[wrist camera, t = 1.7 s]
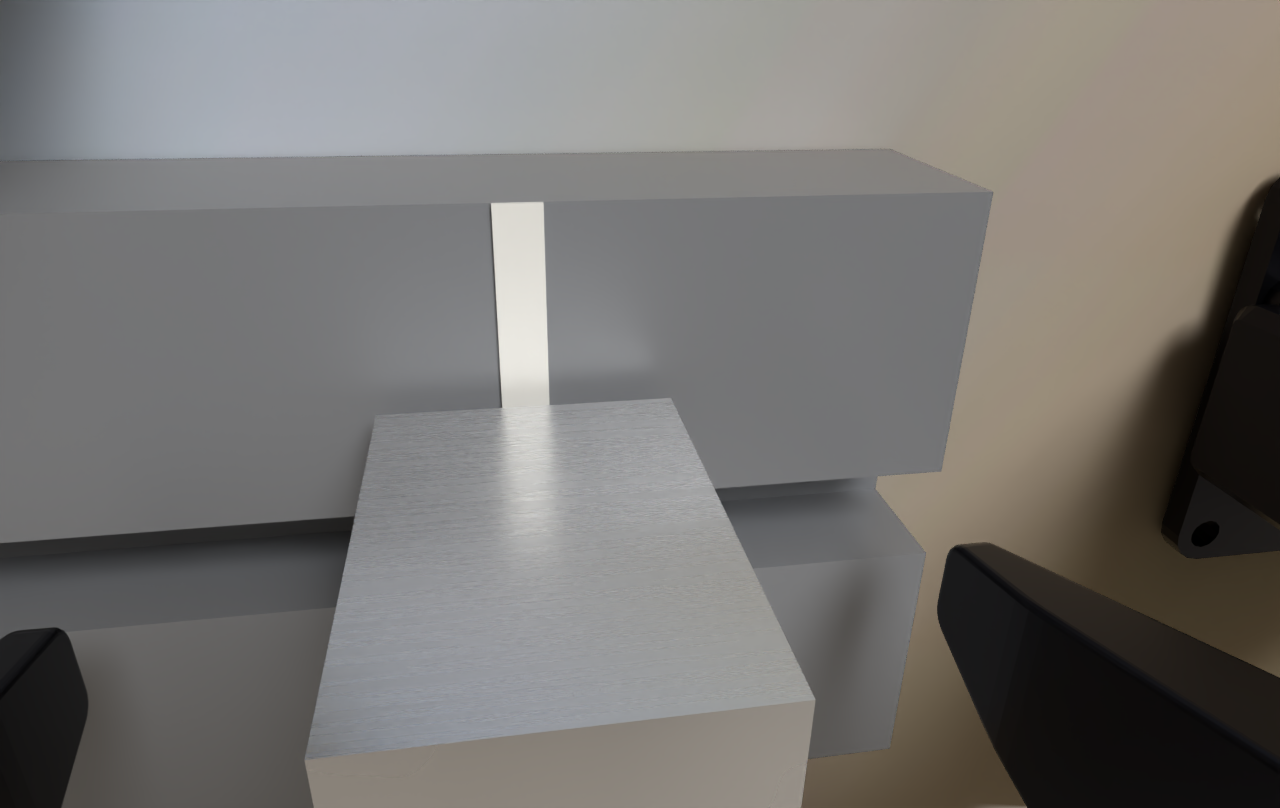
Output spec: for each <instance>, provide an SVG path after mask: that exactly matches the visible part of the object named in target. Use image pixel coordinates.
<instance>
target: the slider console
mask: <svg viewBox="0 0 1280 808" xmlns="http://www.w3.org/2000/svg"><path fill="white" fill-rule="evenodd" d="M992 196H993V191H990V190H988V189H986V188H983V187H981V186H978V185H976V184H973V183H971V182H969V181H966V180H964V179H961V178H959V177H957V176H954V175H952V174H949V173H947V172H945V171H942V170H940V169H937V168H935V167H932V166H930V165H928V164H925V163H923V162H920V161H918V160H916V159H913V158H911V157H908V156H906V155H903V154H901V153H899V152H896V151H894V150H891V149H852V150H778V151H705V152H631V153H558V154H484V155H410V156H337V157H263V158H190V159H116V160H43V161H0V639H1V638H3V637H4V636H6V635H7V634H9V633H11V632H14V631H18V630H27V629H39V628H50V627H57V628H60V629H62V630H64V631H65V632H66V633H67V635H68V636H69V638H70V641H71V643H72V646H73V649H74V652H75V656H76V659H77V662H78V665H79V668H80V671H81V674H82V677H83V680H84V683H85V686H86V689H87V693H88V700H89V708H88V716H87V720H86V724H85V727H84V731H83V735H82V738H81V742H80V745H79V749H78V752H77V756H76V759H75V763H74V766H73V770H72V773H71V777H70V780H69V784H68V787H67V791H66V794H65V798H64V801H63V805H62V808H314V806H313V801H312V796H311V790H310V785H309V780H308V775H307V770H306V765H305V755H306V750H307V746H308V741H309V736H310V731H311V726H312V721H313V717H314V712H315V707H316V702H317V697H318V693H319V688H320V683H321V678H322V673H323V668H324V664H325V659H326V654H327V649H328V644H329V640H330V635H331V630H332V625H333V620H334V615H335V611H336V606H337V601H338V596H339V591H340V587H341V582H342V577H343V572H344V567H345V562H346V558H347V553H348V548H349V543H350V538H351V533H352V529H353V524H354V519H355V514H356V509H357V505H358V500H359V495H360V490H361V485H362V480H363V476H364V471H365V466H366V461H367V456H368V452H369V447H370V442H371V437H372V432H373V427H374V423H375V418H376V415H390V414H407V413H424V412H441V411H458V410H475V409H492V408H509V407H526V406H543V405H560V404H577V403H594V402H611V401H628V400H645V399H661V398H671V399H672V401H673V404H674V406H675V408H676V410H677V412H678V414H679V416H680V418H681V420H682V422H683V424H684V426H685V429H686V431H687V433H688V435H689V437H690V439H691V441H692V443H693V445H694V447H695V449H696V451H697V454H698V456H699V458H700V460H701V462H702V464H703V466H704V468H705V470H706V472H707V474H708V477H709V479H710V481H711V483H712V485H713V487H714V489H715V491H716V493H717V495H718V497H719V499H720V502H721V504H722V506H723V508H724V510H725V512H726V514H727V516H728V518H729V520H730V522H731V524H732V527H733V529H734V531H735V533H736V535H737V537H738V539H739V541H740V543H741V545H742V547H743V549H744V552H745V554H746V556H747V558H748V560H749V562H750V564H751V566H752V568H753V570H754V572H755V575H756V577H757V579H758V581H759V583H760V585H761V587H762V589H763V591H764V593H765V595H766V597H767V600H768V602H769V604H770V606H771V608H772V610H773V612H774V614H775V616H776V618H777V620H778V622H779V625H780V627H781V629H782V631H783V633H784V635H785V637H786V639H787V641H788V643H789V645H790V648H791V650H792V652H793V654H794V656H795V658H796V660H797V662H798V664H799V666H800V668H801V670H802V673H803V675H804V677H805V679H806V681H807V683H808V685H809V687H810V689H811V691H812V693H813V695H814V698H815V708H814V715H813V723H812V730H811V738H810V745H809V753H808V759H812V758H820V757H828V756H836V755H843V754H851V753H859V752H867V751H874V750H882V749H890V744H891V738H892V733H893V728H894V722H895V717H896V711H897V706H898V701H899V695H900V690H901V685H902V679H903V674H904V669H905V663H906V658H907V652H908V647H909V642H910V636H911V631H912V626H913V620H914V615H915V609H916V604H917V599H918V593H919V588H920V583H921V577H922V572H923V567H924V561H925V556H926V552H925V551H924V550H923V548H922V547H921V546H920V545H919V543H918V542H917V541H916V540H915V538H914V537H913V536H912V535H911V533H910V532H909V531H908V529H907V528H906V527H905V526H904V524H903V523H902V522H901V521H900V519H899V518H898V517H897V516H896V514H895V513H894V512H893V511H892V509H891V508H890V507H889V506H888V504H887V503H886V502H885V500H884V499H883V498H882V497H881V495H880V494H879V493H878V492H877V490H876V489H875V488H876V481H877V476H887V475H900V474H913V473H926V472H939V471H941V470H942V465H943V459H944V454H945V448H946V443H947V438H948V432H949V427H950V422H951V416H952V411H953V405H954V400H955V395H956V389H957V384H958V379H959V373H960V368H961V363H962V357H963V352H964V346H965V341H966V336H967V330H968V325H969V320H970V314H971V309H972V303H973V298H974V293H975V287H976V282H977V277H978V271H979V266H980V261H981V255H982V250H983V244H984V239H985V234H986V228H987V223H988V218H989V212H990V207H991V201H992Z"/></svg>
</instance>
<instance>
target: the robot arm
mask: <svg viewBox="0 0 1280 808" xmlns="http://www.w3.org/2000/svg"><path fill="white" fill-rule="evenodd" d="M1161 533H1162V536H1163V538H1164V540H1165V541H1166V542H1167V543H1169V544H1170V545H1171V546H1172V547H1174V548H1175V549H1176V550H1177V551H1178V552H1180V553H1181V554H1182V555H1184V556H1185V557H1187V558H1195V559H1199V558H1209V557H1219V556H1230V555H1240V554H1250V553H1260V552H1270V551H1280V177H1279V179H1278V180H1277V181H1276V182H1275V183H1274V184H1273V185H1272V187H1271V189H1270V191H1269V193H1268V195H1267V197H1266V199H1265V201H1264V205H1263V208H1262V211H1261V214H1260V217H1259V220H1258V224H1257V227H1256V230H1255V233H1254V236H1253V239H1252V242H1251V246H1250V249H1249V252H1248V255H1247V258H1246V261H1245V264H1244V268H1243V271H1242V274H1241V277H1240V280H1239V283H1238V286H1237V290H1236V293H1235V296H1234V299H1233V302H1232V305H1231V308H1230V312H1229V315H1228V318H1227V321H1226V324H1225V327H1224V330H1223V334H1222V337H1221V340H1220V343H1219V346H1218V349H1217V352H1216V356H1215V359H1214V362H1213V365H1212V368H1211V371H1210V374H1209V378H1208V381H1207V384H1206V387H1205V390H1204V393H1203V397H1202V400H1201V403H1200V406H1199V409H1198V412H1197V415H1196V419H1195V422H1194V425H1193V428H1192V431H1191V434H1190V437H1189V441H1188V444H1187V447H1186V450H1185V453H1184V456H1183V459H1182V463H1181V466H1180V469H1179V472H1178V475H1177V478H1176V481H1175V485H1174V488H1173V491H1172V494H1171V497H1170V500H1169V503H1168V507H1167V510H1166V513H1165V516H1164V519H1163V522H1162V530H1161ZM937 614H938V620H939V624H940V627H941V630H942V632H943V634H944V637H945V639H946V641H947V644H948V646H949V648H950V650H951V653H952V655H953V657H954V660H955V662H956V664H957V666H958V669H959V671H960V673H961V676H962V678H963V680H964V682H965V685H966V687H967V689H968V692H969V694H970V696H971V698H972V701H973V703H974V705H975V708H976V710H977V712H978V714H979V717H980V719H981V721H982V723H983V726H984V728H985V730H986V732H987V734H988V736H989V739H990V741H991V743H992V745H993V747H994V749H995V751H996V753H997V754H998V756H999V758H1000V760H1001V762H1002V764H1003V766H1004V767H1005V769H1006V771H1007V773H1008V774H1009V776H1010V778H1011V780H1012V781H1013V783H1014V785H1015V787H1016V788H1017V790H1018V792H1019V794H1020V796H1021V797H1022V799H1023V801H1024V803H1025V804H1026V806H1027V808H1280V678H1279V677H1277V676H1275V675H1272V674H1270V673H1268V672H1266V671H1264V670H1262V669H1260V668H1257V667H1255V666H1253V665H1251V664H1249V663H1247V662H1244V661H1242V660H1240V659H1238V658H1236V657H1234V656H1232V655H1229V654H1227V653H1225V652H1223V651H1221V650H1219V649H1217V648H1214V647H1212V646H1210V645H1208V644H1206V643H1204V642H1202V641H1199V640H1197V639H1195V638H1193V637H1191V636H1189V635H1187V634H1184V633H1182V632H1180V631H1178V630H1176V629H1174V628H1172V627H1169V626H1167V625H1165V624H1163V623H1161V622H1159V621H1157V620H1154V619H1152V618H1150V617H1148V616H1146V615H1144V614H1142V613H1139V612H1137V611H1135V610H1133V609H1131V608H1129V607H1127V606H1124V605H1122V604H1120V603H1118V602H1116V601H1114V600H1112V599H1109V598H1107V597H1105V596H1103V595H1101V594H1099V593H1097V592H1094V591H1092V590H1090V589H1088V588H1086V587H1084V586H1082V585H1079V584H1077V583H1075V582H1073V581H1071V580H1069V579H1067V578H1064V577H1062V576H1060V575H1058V574H1056V573H1054V572H1051V571H1049V570H1047V569H1045V568H1043V567H1041V566H1039V565H1036V564H1034V563H1032V562H1030V561H1028V560H1026V559H1024V558H1021V557H1019V556H1017V555H1015V554H1013V553H1011V552H1009V551H1006V550H1004V549H1002V548H1000V547H998V546H996V545H994V544H991V543H986V542H983V543H972V544H961V545H956V546H954V547H953V548H952V549H951V550H950V551H949V553H948V555H947V559H946V564H945V569H944V574H943V579H942V584H941V589H940V594H939V599H938V605H937ZM88 708H89V700H88V693H87V689H86V686H85V683H84V680H83V677H82V674H81V671H80V668H79V665H78V662H77V659H76V656H75V652H74V649H73V646H72V643H71V641H70V638H69V636H68V635H67V633H66V632H65V631H64V630H62V629H60V628H57V627H50V628H39V629H27V630H18V631H14V632H11V633H9V634H7V635H6V636H4V637H3V638H1V639H0V808H62V805H63V801H64V798H65V794H66V791H67V787H68V784H69V780H70V777H71V773H72V770H73V766H74V763H75V759H76V756H77V752H78V749H79V745H80V742H81V738H82V735H83V731H84V727H85V724H86V720H87V716H88Z"/></svg>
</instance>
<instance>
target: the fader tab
mask: <svg viewBox="0 0 1280 808" xmlns="http://www.w3.org/2000/svg"><path fill="white" fill-rule="evenodd" d="M814 708H815V698H814V695H813V693H812V691H811V689H810V687H809V685H808V683H807V681H806V679H805V677H804V675H803V673H802V670H801V668H800V666H799V664H798V662H797V660H796V658H795V656H794V654H793V652H792V650H791V648H790V645H789V643H788V641H787V639H786V637H785V635H784V633H783V631H782V629H781V627H780V625H779V622H778V620H777V618H776V616H775V614H774V612H773V610H772V608H771V606H770V604H769V602H768V600H767V597H766V595H765V593H764V591H763V589H762V587H761V585H760V583H759V581H758V579H757V577H756V575H755V572H754V570H753V568H752V566H751V564H750V562H749V560H748V558H747V556H746V554H745V552H744V549H743V547H742V545H741V543H740V541H739V539H738V537H737V535H736V533H735V531H734V529H733V527H732V524H731V522H730V520H729V518H728V516H727V514H726V512H725V510H724V508H723V506H722V504H721V502H720V499H719V497H718V495H717V493H716V491H715V489H714V487H713V485H712V483H711V481H710V479H709V477H708V474H707V472H706V470H705V468H704V466H703V464H702V462H701V460H700V458H699V456H698V454H697V451H696V449H695V447H694V445H693V443H692V441H691V439H690V437H689V435H688V433H687V431H686V429H685V426H684V424H683V422H682V420H681V418H680V416H679V414H678V412H677V410H676V408H675V406H674V404H673V401H672V399H671V398H661V399H645V400H628V401H611V402H594V403H577V404H560V405H543V406H526V407H509V408H492V409H475V410H458V411H441V412H424V413H407V414H390V415H376V418H375V423H374V427H373V432H372V437H371V442H370V447H369V452H368V456H367V461H366V466H365V471H364V476H363V480H362V485H361V490H360V495H359V500H358V505H357V509H356V514H355V519H354V524H353V529H352V533H351V538H350V543H349V548H348V553H347V558H346V562H345V567H344V572H343V577H342V582H341V587H340V591H339V596H338V601H337V606H336V611H335V615H334V620H333V625H332V630H331V635H330V640H329V644H328V649H327V654H326V659H325V664H324V668H323V673H322V678H321V683H320V688H319V693H318V697H317V702H316V707H315V712H314V717H313V721H312V726H311V731H310V736H309V741H308V746H307V750H306V755H305V765H306V770H307V775H308V780H309V785H310V790H311V796H312V801H313V806H314V808H801V805H802V798H803V790H804V783H805V775H806V768H807V760H808V753H809V745H810V738H811V730H812V723H813V715H814Z"/></svg>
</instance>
